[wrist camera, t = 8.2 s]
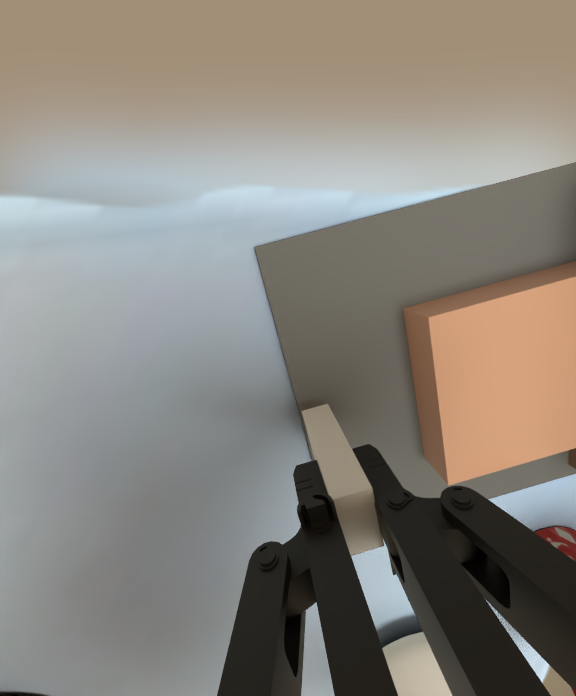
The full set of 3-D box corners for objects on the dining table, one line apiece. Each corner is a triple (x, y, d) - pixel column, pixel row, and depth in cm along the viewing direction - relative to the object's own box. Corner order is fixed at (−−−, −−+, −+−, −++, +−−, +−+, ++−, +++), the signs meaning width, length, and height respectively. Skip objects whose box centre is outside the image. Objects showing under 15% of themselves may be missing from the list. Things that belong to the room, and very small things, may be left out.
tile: (424, 457, 20) (448, 485, 18) (403, 308, 17) (428, 317, 15) (627, 398, 20) (678, 417, 18) (640, 242, 18) (704, 240, 15)
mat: (333, 539, 22) (335, 544, 21) (254, 247, 16) (254, 247, 15) (705, 430, 23) (713, 433, 22) (763, 112, 17) (775, 109, 16)
